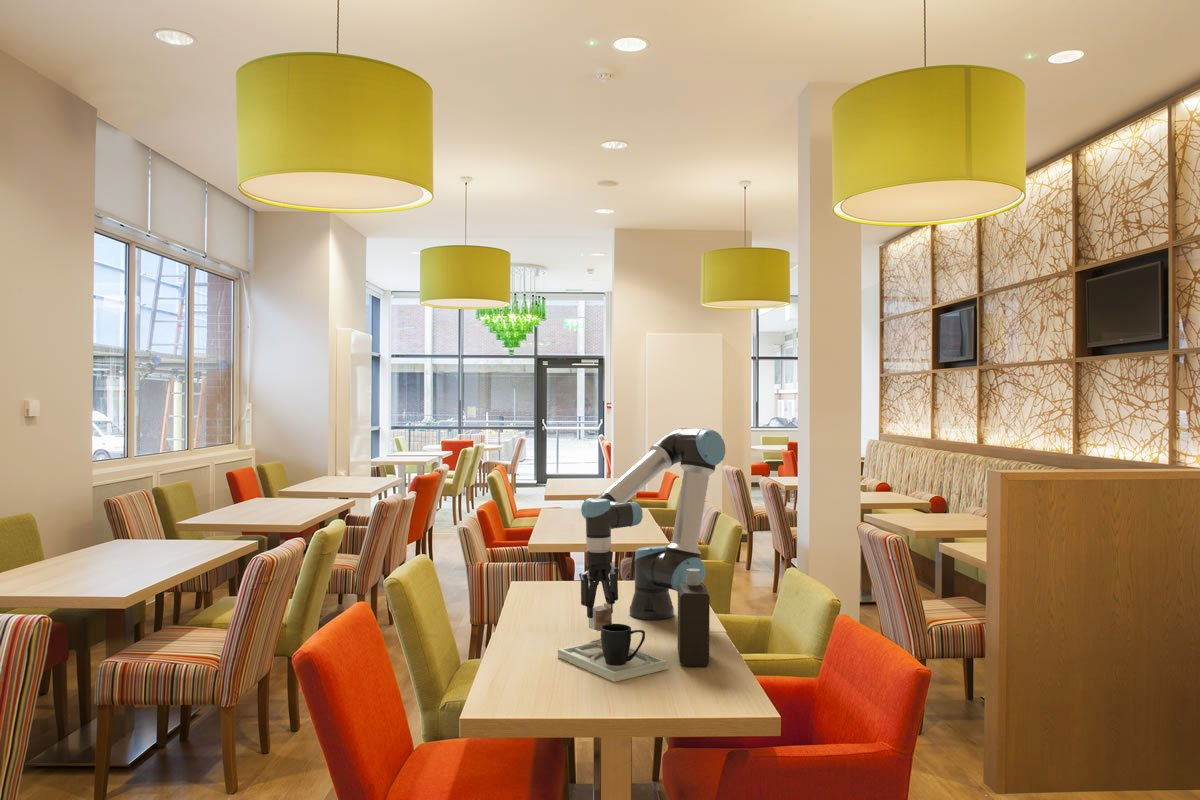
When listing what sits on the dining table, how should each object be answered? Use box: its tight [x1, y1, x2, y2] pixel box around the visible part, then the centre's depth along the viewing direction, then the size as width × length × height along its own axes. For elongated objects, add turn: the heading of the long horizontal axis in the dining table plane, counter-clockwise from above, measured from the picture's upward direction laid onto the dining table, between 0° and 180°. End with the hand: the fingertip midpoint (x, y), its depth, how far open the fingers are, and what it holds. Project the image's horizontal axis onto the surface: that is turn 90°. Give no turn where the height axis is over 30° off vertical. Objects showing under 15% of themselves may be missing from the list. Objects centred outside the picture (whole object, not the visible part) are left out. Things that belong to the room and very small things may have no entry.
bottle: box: [677, 568, 711, 668], centre depth 231 cm, size 8×16×25 cm, turn 177°
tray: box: [557, 640, 668, 683], centre depth 227 cm, size 18×26×2 cm
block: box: [590, 604, 613, 632], centre depth 251 cm, size 5×5×6 cm
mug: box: [600, 623, 646, 666], centre depth 223 cm, size 8×12×10 cm
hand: (600, 626), depth 251 cm, fingers closed on block, 5 cm apart
